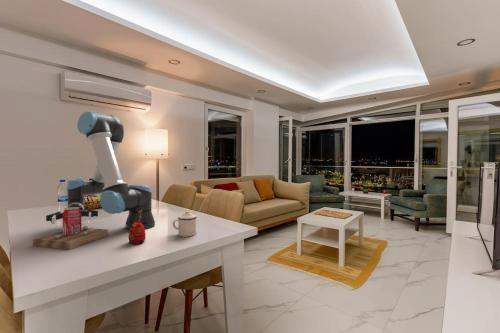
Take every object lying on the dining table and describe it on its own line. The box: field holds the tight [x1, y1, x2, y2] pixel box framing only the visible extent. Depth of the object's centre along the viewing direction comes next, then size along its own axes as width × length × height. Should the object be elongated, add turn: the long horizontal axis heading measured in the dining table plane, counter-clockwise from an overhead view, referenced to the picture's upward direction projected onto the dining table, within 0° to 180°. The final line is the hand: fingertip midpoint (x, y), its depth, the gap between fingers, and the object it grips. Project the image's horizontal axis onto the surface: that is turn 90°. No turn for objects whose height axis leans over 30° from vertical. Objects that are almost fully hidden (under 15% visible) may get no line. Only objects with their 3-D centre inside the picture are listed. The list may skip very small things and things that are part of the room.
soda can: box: [62, 206, 82, 235], centre depth 117 cm, size 7×7×12 cm
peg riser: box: [32, 225, 109, 250], centre depth 117 cm, size 20×20×4 cm
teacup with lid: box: [172, 210, 197, 238], centre depth 127 cm, size 12×9×12 cm
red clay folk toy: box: [128, 210, 147, 245], centre depth 115 cm, size 8×7×15 cm
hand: (71, 219), depth 114 cm, fingers open, 13 cm apart
